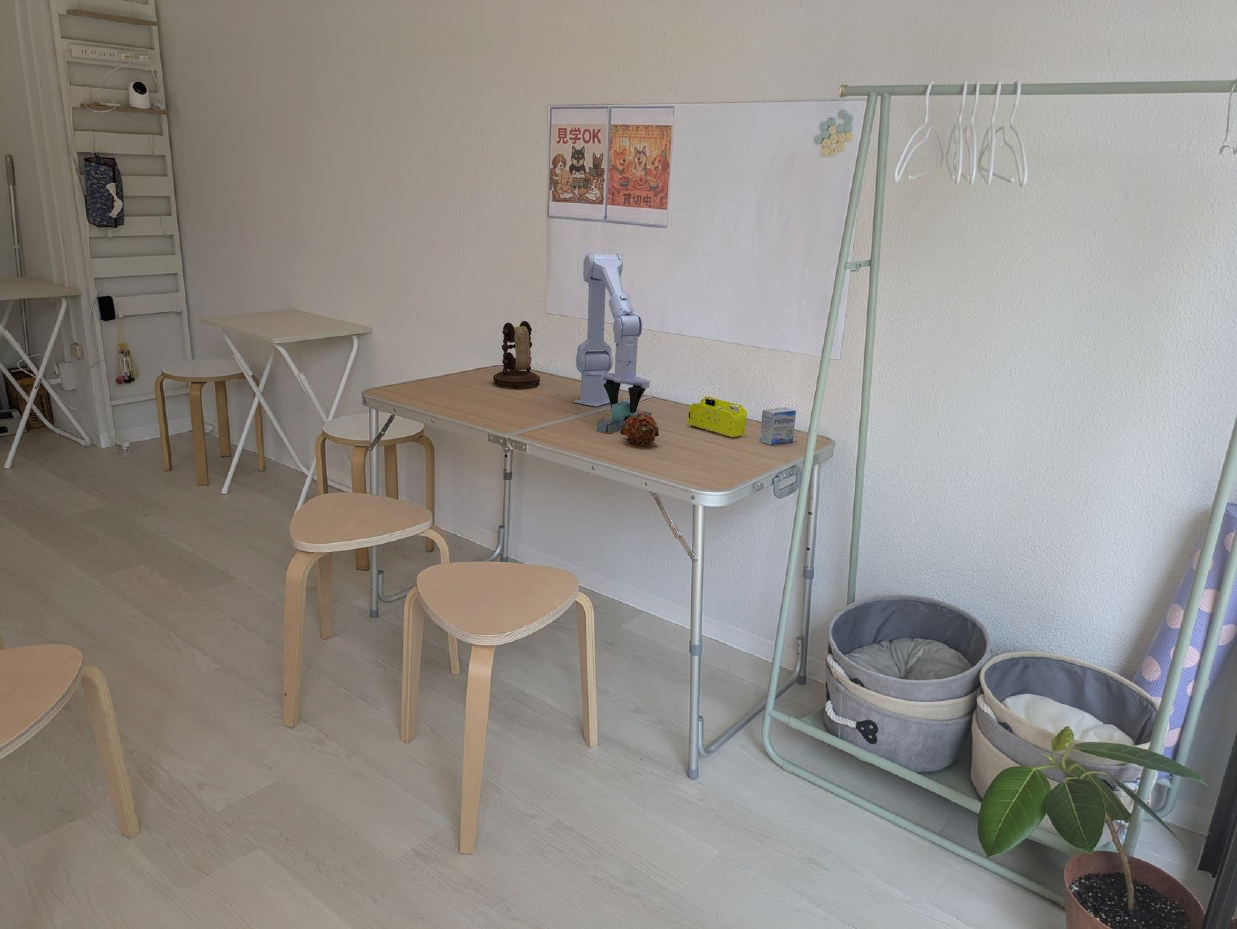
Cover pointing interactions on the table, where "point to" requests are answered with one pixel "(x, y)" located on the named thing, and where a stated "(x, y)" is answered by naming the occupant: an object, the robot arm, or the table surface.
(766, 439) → the medicine box
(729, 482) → the table surface
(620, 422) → the rail
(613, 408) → the clip
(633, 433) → the brown scaly rounded piece
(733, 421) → the yellow toy chassis
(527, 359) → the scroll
